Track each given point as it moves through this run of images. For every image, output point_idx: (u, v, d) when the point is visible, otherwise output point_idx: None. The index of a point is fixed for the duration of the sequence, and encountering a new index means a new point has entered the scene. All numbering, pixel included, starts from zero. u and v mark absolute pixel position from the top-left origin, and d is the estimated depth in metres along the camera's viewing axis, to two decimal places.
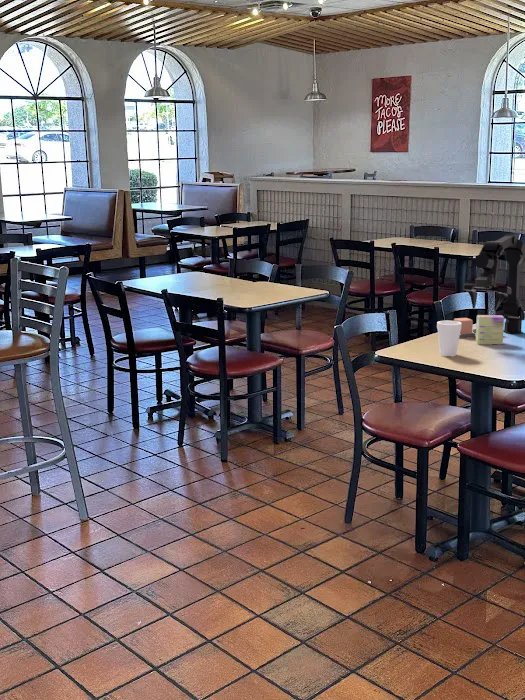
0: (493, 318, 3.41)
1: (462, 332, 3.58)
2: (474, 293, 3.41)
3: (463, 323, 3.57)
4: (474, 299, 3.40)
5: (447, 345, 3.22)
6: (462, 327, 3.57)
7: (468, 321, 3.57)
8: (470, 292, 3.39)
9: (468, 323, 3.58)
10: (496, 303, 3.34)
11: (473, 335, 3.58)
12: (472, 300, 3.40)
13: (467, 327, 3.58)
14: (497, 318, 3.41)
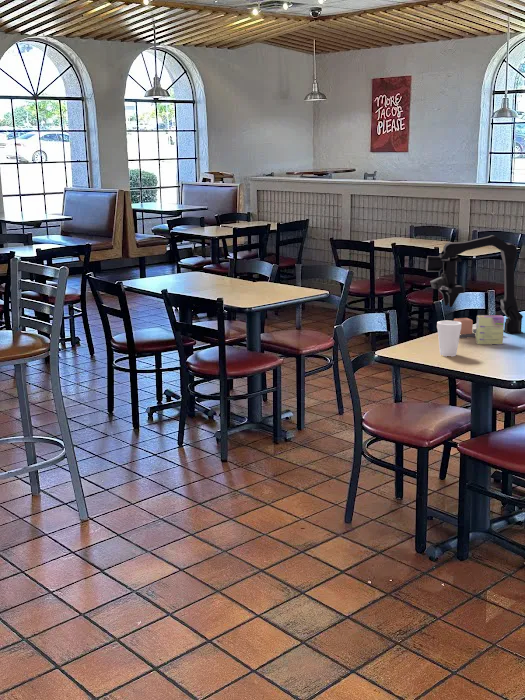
0: (493, 318, 3.41)
1: (462, 332, 3.58)
2: (446, 291, 3.68)
3: (463, 323, 3.57)
4: (445, 297, 3.68)
5: (447, 345, 3.22)
6: (462, 327, 3.57)
7: (468, 321, 3.57)
8: (440, 291, 3.68)
9: (468, 323, 3.58)
10: (449, 300, 3.63)
11: (473, 335, 3.58)
12: (443, 298, 3.69)
13: (467, 327, 3.58)
14: (497, 318, 3.41)
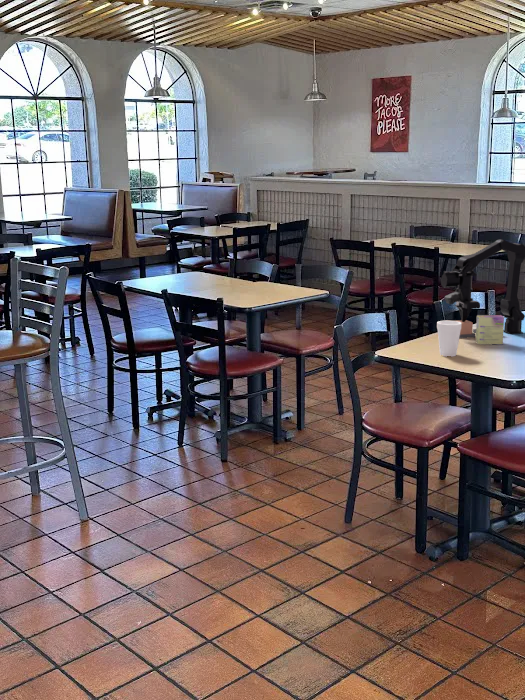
0: (493, 318, 3.41)
1: None
2: None
3: (463, 325, 3.57)
4: None
5: (447, 345, 3.22)
6: (462, 329, 3.58)
7: (468, 323, 3.58)
8: (457, 307, 3.60)
9: (468, 325, 3.58)
10: (462, 315, 3.59)
11: (473, 335, 3.58)
12: (460, 314, 3.60)
13: (467, 329, 3.58)
14: (497, 318, 3.41)
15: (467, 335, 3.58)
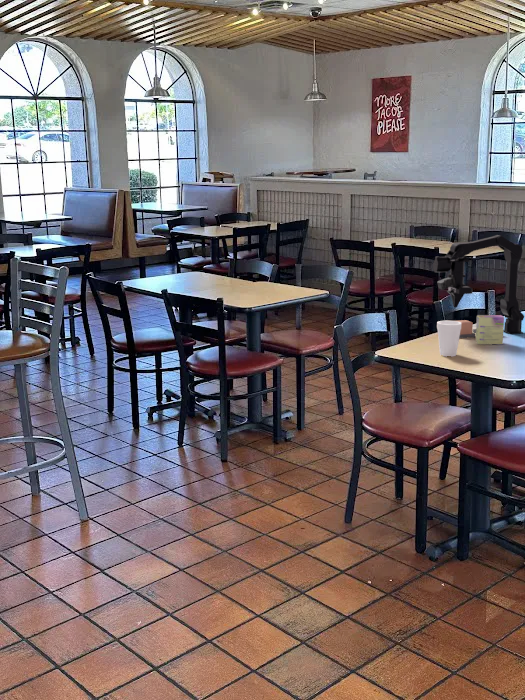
0: (493, 318, 3.41)
1: None
2: None
3: (463, 325, 3.57)
4: None
5: (447, 345, 3.22)
6: (462, 329, 3.58)
7: (468, 323, 3.58)
8: (449, 292, 3.61)
9: (468, 325, 3.58)
10: (454, 301, 3.60)
11: (473, 335, 3.58)
12: (452, 300, 3.61)
13: (467, 329, 3.58)
14: (497, 318, 3.41)
15: (467, 335, 3.58)
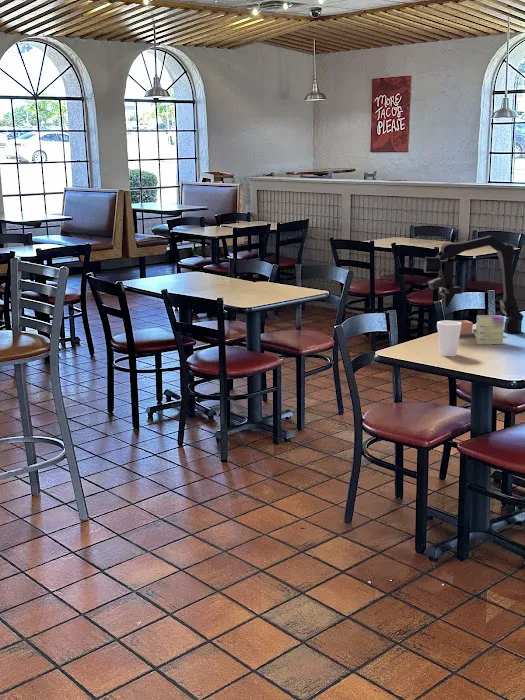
0: (493, 318, 3.41)
1: None
2: None
3: (463, 325, 3.57)
4: None
5: (447, 345, 3.22)
6: (462, 329, 3.58)
7: (468, 323, 3.58)
8: (440, 292, 3.64)
9: (468, 325, 3.58)
10: (445, 301, 3.63)
11: (473, 335, 3.58)
12: (443, 300, 3.64)
13: (467, 329, 3.58)
14: (497, 318, 3.41)
15: (467, 335, 3.58)
